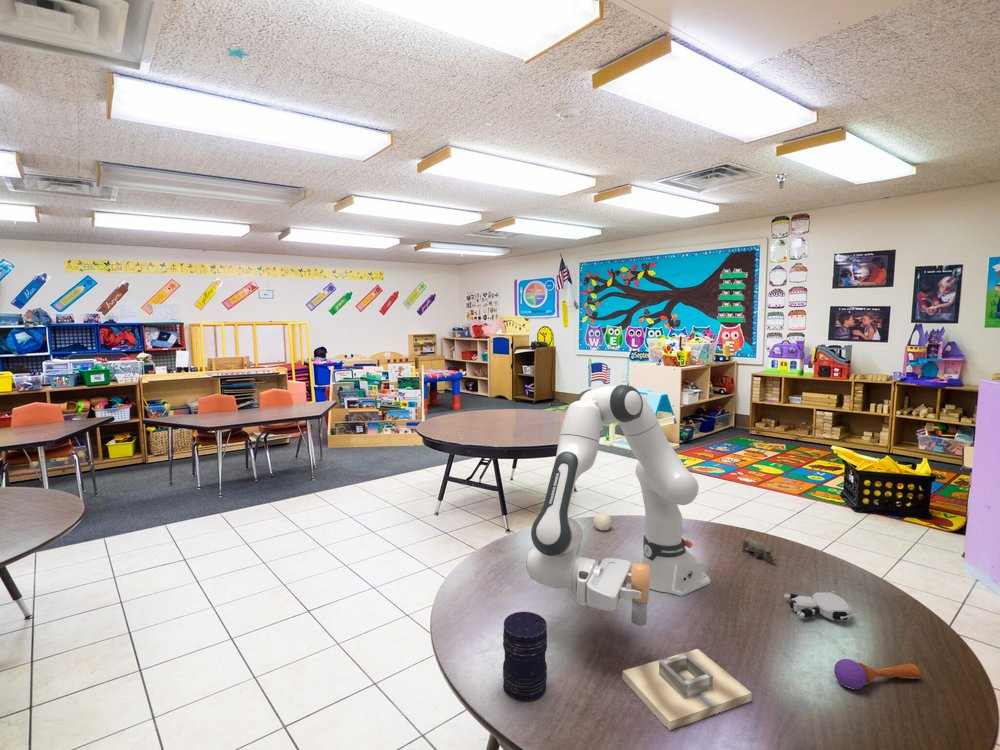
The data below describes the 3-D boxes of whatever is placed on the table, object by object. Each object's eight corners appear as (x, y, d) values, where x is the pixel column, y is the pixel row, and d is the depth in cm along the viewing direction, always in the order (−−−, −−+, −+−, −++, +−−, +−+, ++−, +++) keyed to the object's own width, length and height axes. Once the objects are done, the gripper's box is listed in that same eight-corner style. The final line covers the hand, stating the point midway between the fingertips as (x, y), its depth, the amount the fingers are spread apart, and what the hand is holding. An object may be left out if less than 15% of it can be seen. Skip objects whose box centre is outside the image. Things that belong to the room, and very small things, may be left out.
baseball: (598, 524, 206) (598, 508, 206) (614, 529, 202) (614, 513, 201) (589, 529, 201) (590, 513, 200) (606, 534, 196) (606, 518, 196)
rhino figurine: (770, 568, 170) (771, 551, 169) (738, 551, 183) (739, 535, 182) (779, 566, 171) (780, 549, 170) (747, 549, 184) (748, 533, 183)
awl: (640, 615, 125) (642, 561, 124) (651, 624, 121) (653, 568, 120) (626, 618, 124) (628, 564, 123) (637, 628, 120) (638, 571, 119)
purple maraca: (930, 672, 113) (853, 675, 110) (921, 692, 115) (845, 696, 112) (906, 650, 119) (832, 653, 116) (897, 670, 121) (824, 673, 117)
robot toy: (799, 626, 138) (859, 628, 136) (798, 611, 138) (859, 612, 135) (781, 602, 150) (836, 603, 148) (781, 588, 150) (836, 589, 147)
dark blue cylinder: (514, 708, 107) (514, 642, 106) (495, 678, 116) (496, 617, 115) (554, 694, 111) (555, 630, 110) (534, 667, 120) (534, 607, 119)
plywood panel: (697, 656, 124) (698, 637, 124) (751, 701, 109) (752, 679, 109) (622, 678, 116) (622, 658, 116) (669, 730, 101) (670, 707, 101)
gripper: (598, 570, 137) (650, 582, 131) (575, 608, 119) (635, 623, 113) (598, 548, 136) (651, 558, 130) (576, 583, 118) (636, 597, 112)
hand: (643, 589), depth 121 cm, fingers closed on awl, 4 cm apart
